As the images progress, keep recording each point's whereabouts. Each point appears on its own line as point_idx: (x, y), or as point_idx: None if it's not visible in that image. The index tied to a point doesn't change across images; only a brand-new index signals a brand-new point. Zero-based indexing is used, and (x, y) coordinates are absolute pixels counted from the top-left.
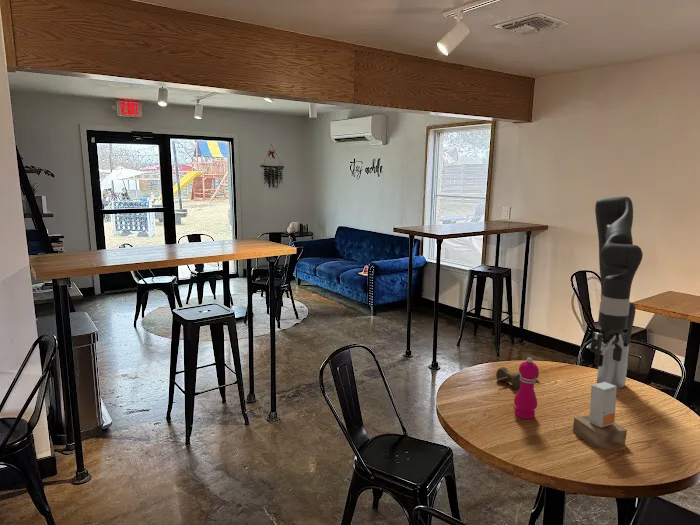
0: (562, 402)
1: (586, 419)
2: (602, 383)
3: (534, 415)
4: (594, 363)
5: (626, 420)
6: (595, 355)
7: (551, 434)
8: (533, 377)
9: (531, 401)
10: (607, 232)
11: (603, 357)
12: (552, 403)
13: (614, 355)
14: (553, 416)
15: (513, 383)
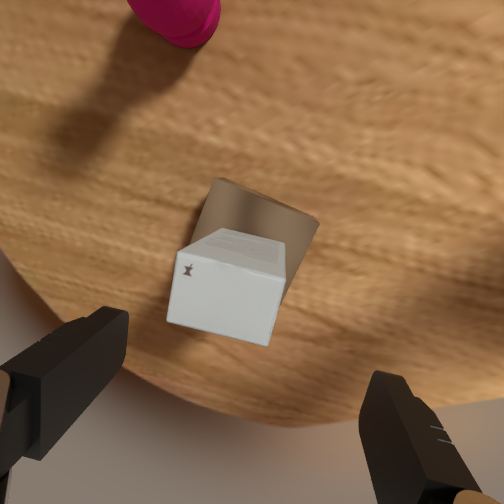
0: (404, 38)
1: (235, 211)
2: (244, 283)
3: (199, 42)
4: (103, 306)
5: (436, 251)
6: (1, 369)
7: (152, 148)
8: None
9: (142, 12)
10: None
11: (60, 432)
12: (362, 17)
13: (383, 413)
14: (263, 84)
15: None
